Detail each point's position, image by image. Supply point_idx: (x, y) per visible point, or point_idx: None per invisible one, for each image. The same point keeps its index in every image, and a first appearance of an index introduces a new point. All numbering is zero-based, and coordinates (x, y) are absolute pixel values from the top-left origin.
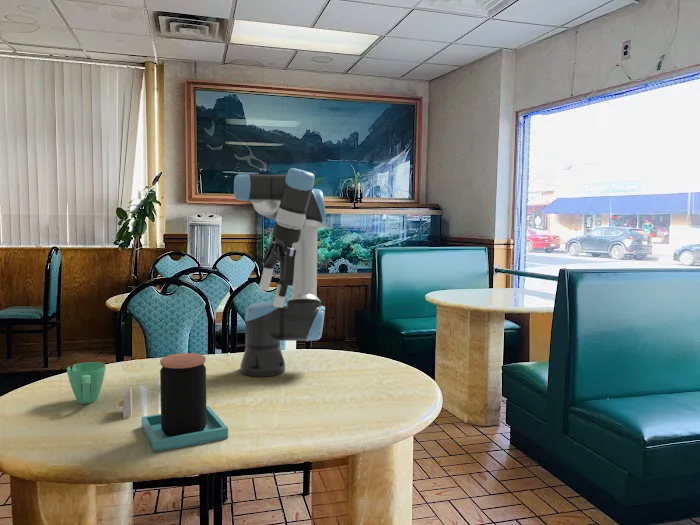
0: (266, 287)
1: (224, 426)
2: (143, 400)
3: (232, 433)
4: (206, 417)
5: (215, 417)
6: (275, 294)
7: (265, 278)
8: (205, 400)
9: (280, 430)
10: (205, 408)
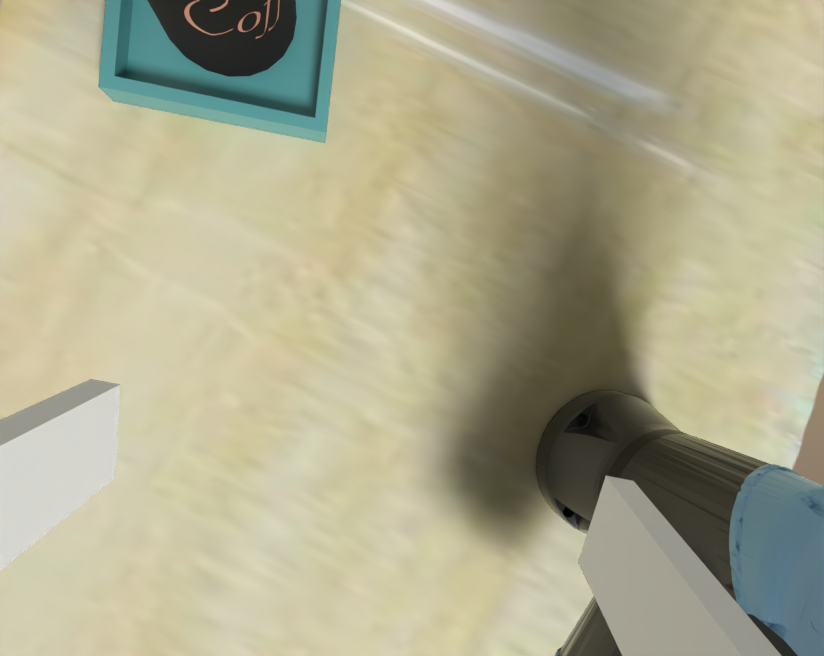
0: (600, 564)
1: (118, 84)
2: (548, 48)
3: (145, 131)
4: (200, 59)
5: (213, 100)
6: (4, 442)
7: (668, 623)
8: (158, 6)
9: (82, 259)
10: (167, 23)
